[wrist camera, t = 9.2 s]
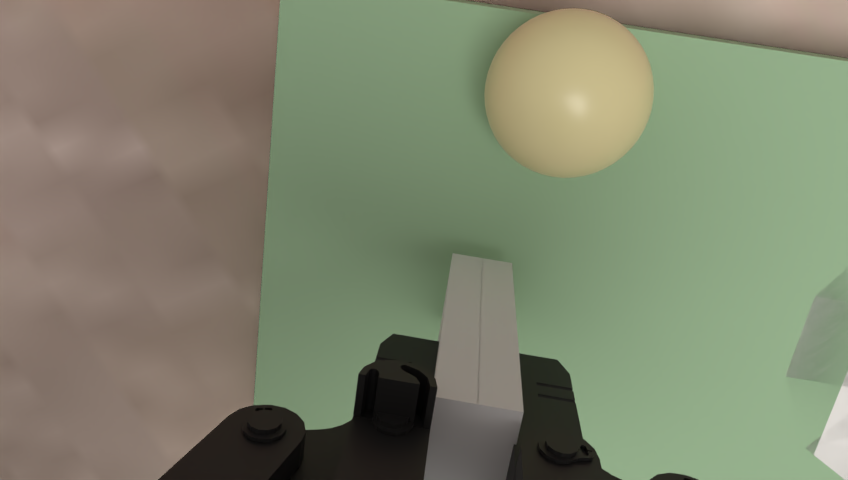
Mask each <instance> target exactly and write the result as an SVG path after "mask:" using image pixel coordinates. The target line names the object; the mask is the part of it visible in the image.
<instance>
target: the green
mask: <svg viewBox="0 0 848 480" xmlns="http://www.w3.org/2000/svg"><path fill="white" fill-rule="evenodd" d="M543 13H546V12H540V11H533V10H527V9H520V8H514V7H507V6H500V5H494V4H487V3H481V2H474V1H467V0H280V8H279V24H278V39H277V54H276V70H275V85H274V100H273V115H272V131H271V146H270V161H269V177H268V192H267V207H266V223H265V238H264V253H263V268H262V284H261V299H260V314H259V330H258V345H257V360H256V375H255V391H254V405H274V406H279V407H284V408H287V409H288V410H290V411H292V412H294V413H296V414H297V415H298V416H299V417H300V418H301V419H302V420H303V421H304V424H305V429H306V430H317V429H327V428H333V427H337V426H340V425H343V424H345V423H347V422H349V421H351V420H352V418H353V412H354V405H355V397H356V389H357V381H358V374H359V372H360V371H361V370H362V369H363V367H364V366H366V365H368V364H371V363H373V362H375V359H376V356H377V353H378V349H379V346H380V343H382V342H383V341H384V340H386V339H387V338H388V337H390V336H391V335H392V334H399V335H405V336H410V337H416V338H422V339H428V340H434V341H438V337H439V331H440V325H441V319H442V313H443V307H444V301H445V295H446V289H447V283H448V277H449V271H450V265H451V260H452V254H453V253H455V254H461V255H467V256H473V257H479V258H485V259H491V260H497V261H503V262H509V263H512V269H513V281H514V294H515V307H516V320H517V333H518V346H519V353H521V354H527V355H532V356H538V357H544V358H550V359H556V360H558V361H559V362H560V363H561V364H562V366H563V367H564V368H565V369H566V370H567V371H568V372H569V374H570V377H571V382H572V387H573V390H572V391H573V392H574V397H575V403H576V407H577V412H578V416H579V421H580V426H581V431H582V436H583V439H584V440H585V441H587V442H588V443H589V444H590V445H591V446H592V447H593V448H594V449H595V451H596V453H597V455H598V457H599V458H600V463H601V467H602V469H603V470H605V471H607V472H608V473H610V474H611V475H613V476H615V477H617V478H619V479H622V480H650V479H651V478H653V477H654V476H656V475H657V474H664V473H676V474H683V475H687V476H690V477H692V478H696V479H698V480H848V58H843V57H837V56H830V55H823V54H817V53H810V52H804V51H797V50H790V49H784V48H777V47H771V46H764V45H757V44H751V43H744V42H738V41H731V40H725V39H718V38H711V37H705V36H698V35H692V34H685V33H678V32H672V31H665V30H659V29H652V28H645V27H639V26H632V25H626V24H622V25H623V26H624V27H626V28H627V29H628V30H629V31H630V32H631V33H632V34H633V35H634V36H635V38H636V39H637V40H638V42H639V43H640V44H641V46H642V47H643V49H644V51H645V53H646V55H647V57H648V60H649V63H650V65H651V70H652V74H653V82H654V98H653V105H652V110H651V114H650V117H649V120H648V123H647V125H646V127H645V129H644V131H643V133H642V134H641V136H640V138H639V139H638V141H637V142H636V143H635V144H634V146H633V147H632V148H631V149H630V150H629V151H628V152H627V153H626V154H625V155H624V156H623V157H622V158H620V159H619V160H618V161H616V162H615V163H614V164H612V165H610V166H609V167H607V168H605V169H603V170H601V171H598V172H596V173H593V174H590V175H586V176H581V177H575V178H558V177H551V176H546V175H542V174H539V173H537V172H534V171H532V170H530V169H528V168H526V167H524V166H522V165H521V164H519V163H518V162H517V161H515V160H514V159H513V158H512V157H510V156H509V155H508V154H507V153H506V152H505V150H504V149H503V148H502V147H501V146H500V144H499V143H498V141H497V140H496V138H495V136H494V134H493V132H492V130H491V128H490V125H489V122H488V118H487V115H486V109H485V99H484V91H485V82H486V78H487V74H488V70H489V67H490V65H491V62H492V60H493V58H494V56H495V54H496V52H497V51H498V49H499V48H500V46H501V45H502V44H503V42H504V41H505V40H506V39H507V38H508V37H509V35H510V34H511V33H512V32H514V31H515V30H516V29H517V28H518V27H519V26H521V25H522V24H524V23H525V22H527V21H528V20H530V19H532V18H534V17H536V16H538V15H540V14H543Z"/></svg>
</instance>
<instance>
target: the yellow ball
mask: <svg viewBox="0 0 848 480" xmlns="http://www.w3.org/2000/svg"><path fill="white" fill-rule="evenodd" d="M653 98H654V82H653V74H652V70H651V65H650V63H649V60H648V57H647V55H646V53H645V51H644V49H643V47H642V46H641V44H640V43H639V42H638V40H637V39H636V38H635V36H634V35H633V34H632V33H631V32H630V31H629V30H628V29H627V28H626V27H624V26H623V25H622V24H620V23H619V22H618V21H616V20H614V19H612V18H611V17H609V16H607V15H604V14H602V13H599V12H596V11H592V10H587V9H579V8H567V9H558V10H553V11H549V12H546V13H543V14H540V15H538V16H536V17H534V18H532V19H530V20H528V21H527V22H525V23H524V24H522V25H521V26H519V27H518V28H517V29H516V30H515V31H514V32H512V33H511V34H510V35H509V37H508V38H507V39H506V40H505V41H504V42H503V44H502V45H501V46H500V48H499V49H498V51H497V52H496V54H495V56H494V58H493V60H492V62H491V65H490V67H489V70H488V74H487V78H486V82H485V91H484V99H485V109H486V115H487V118H488V122H489V125H490V128H491V130H492V132H493V134H494V136H495V138H496V140H497V141H498V143H499V144H500V146H501V147H502V148H503V149H504V150H505V152H506V153H507V154H508V155H509V156H510V157H512V158H513V159H514V160H515V161H517V162H518V163H519V164H521V165H522V166H524V167H526V168H528V169H530V170H532V171H534V172H537V173H539V174H542V175H546V176H551V177H558V178H575V177H581V176H586V175H590V174H593V173H596V172H598V171H601V170H603V169H605V168H607V167H609V166H610V165H612V164H614V163H615V162H616V161H618V160H619V159H620V158H622V157H623V156H624V155H625V154H626V153H627V152H628V151H629V150H630V149H631V148H632V147H633V146H634V144H635V143H636V142H637V141H638V139H639V138H640V136H641V134H642V133H643V131H644V129H645V127H646V125H647V123H648V120H649V117H650V114H651V110H652V105H653Z"/></svg>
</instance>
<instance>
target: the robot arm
mask: <svg viewBox="0 0 848 480" xmlns="http://www.w3.org/2000/svg"><path fill="white" fill-rule="evenodd" d="M572 390H573V387H572V382H571V377H570V374H569V372H568V371H567V370H566V369H565V368H564V367H563V366H562V364H561V363H560V362H559V361H558V360H556V359H550V358H544V357H538V356H532V355H527V354H521V353H519V346H518V333H517V320H516V307H515V294H514V281H513V269H512V263H509V262H503V261H497V260H491V259H485V258H479V257H473V256H467V255H461V254H455V253H453V254H452V260H451V265H450V271H449V277H448V283H447V289H446V295H445V301H444V307H443V313H442V319H441V325H440V331H439V337H438V341H434V340H428V339H422V338H416V337H410V336H405V335H399V334H392V335H391V336H390V337H388V338H387V339H386V340H384V341H383V342H382V343H380V346H379V349H378V353H377V356H376V359H375V362H373V363H371V364H368V365H366V366H364V367H363V369H362V370H361V371H360V372H359V374H358V381H357V389H356V397H355V405H354V412H353V418H352V420H351V421H349V422H347V423H345V424H343V425H340V426H337V427H333V428H327V429H317V430H306V429H305V424H304V421H303V420H302V419H301V418H300V417H299V416H298V415H297V414H296V413H294V412H292V411H290V410H288V409H287V408H284V407H279V406H274V405H253V406H249V407H245V408H242V409H239V410H237V411H236V412H234V413H232V414H231V415H229V416H228V417H227V418H226V419H225V420H223V421H222V422H221V423H220V424H219V425H218V426H217V427H216V428H215V429H214V430H212V431H211V432H210V433H209V434H208V435H207V436H206V437H205V438H204V439H203V440H201V441H200V442H199V443H198V444H197V445H196V446H195V447H194V448H193V449H191V450H190V451H189V452H188V453H187V454H186V455H185V456H184V457H183V458H182V459H180V460H179V461H178V462H177V463H176V464H175V465H174V466H173V467H172V468H171V469H169V470H168V471H167V472H166V473H165V474H164V475H163V476H162V477H161V478H160V479H158V480H622V479H619V478H617V477H615V476H613V475H611V474H610V473H608V472H607V471H605V470H603V469H602V467H601V463H600V458H599V457H598V455H597V453H596V451H595V449H594V448H593V447H592V446H591V445H590V444H589V443H588V442H587V441H585V440H584V439H583V436H582V431H581V426H580V421H579V416H578V412H577V407H576V403H575V397H574V392H573V391H572ZM650 480H698V479H696V478H692V477H690V476H687V475H683V474H676V473H664V474H657V475H656V476H654V477H653V478H651V479H650Z"/></svg>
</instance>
